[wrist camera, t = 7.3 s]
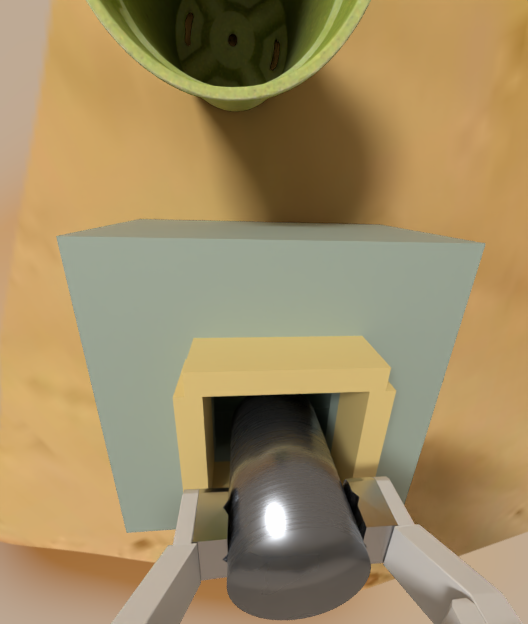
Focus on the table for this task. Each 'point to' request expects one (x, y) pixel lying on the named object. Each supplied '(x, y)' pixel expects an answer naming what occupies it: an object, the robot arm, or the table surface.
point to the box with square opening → (261, 342)
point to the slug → (288, 514)
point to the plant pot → (219, 53)
